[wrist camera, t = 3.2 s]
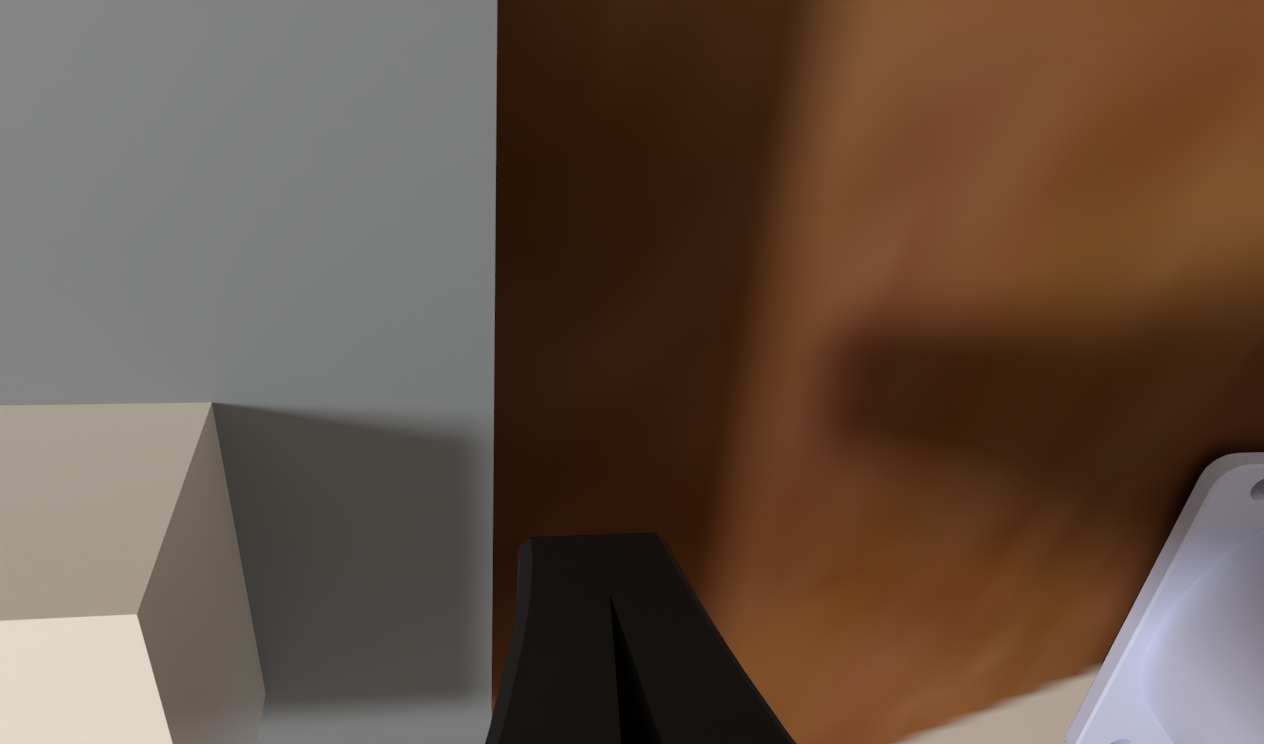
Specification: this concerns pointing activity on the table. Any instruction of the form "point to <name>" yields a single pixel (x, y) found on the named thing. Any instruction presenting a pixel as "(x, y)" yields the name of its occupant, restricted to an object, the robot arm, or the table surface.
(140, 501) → the tile
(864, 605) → the table surface
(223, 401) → the grey rectangular block
